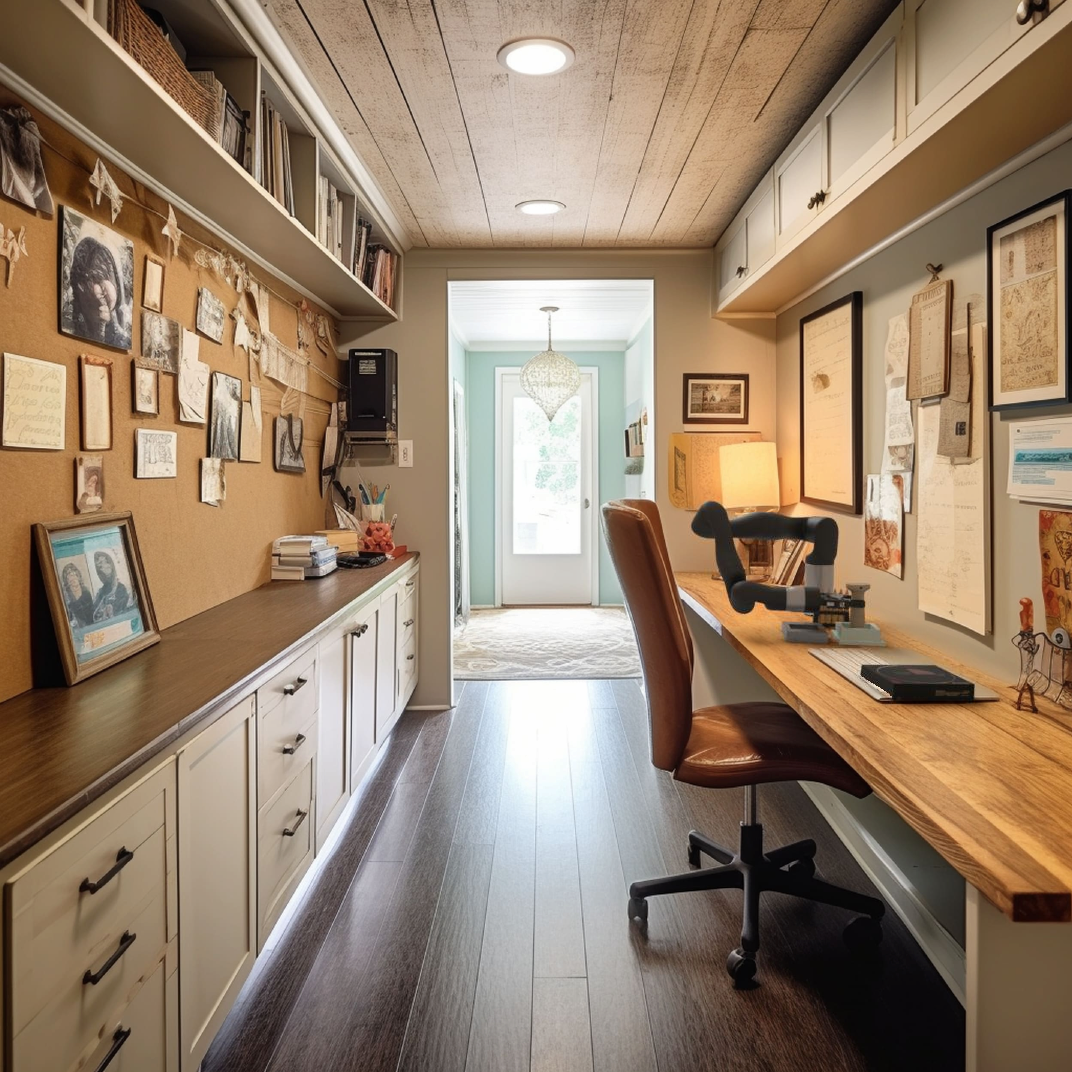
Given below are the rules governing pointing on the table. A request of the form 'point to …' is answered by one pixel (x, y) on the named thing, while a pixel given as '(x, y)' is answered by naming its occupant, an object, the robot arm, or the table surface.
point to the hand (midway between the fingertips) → (862, 601)
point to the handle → (857, 613)
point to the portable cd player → (919, 682)
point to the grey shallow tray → (858, 635)
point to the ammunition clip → (831, 614)
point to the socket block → (804, 632)
